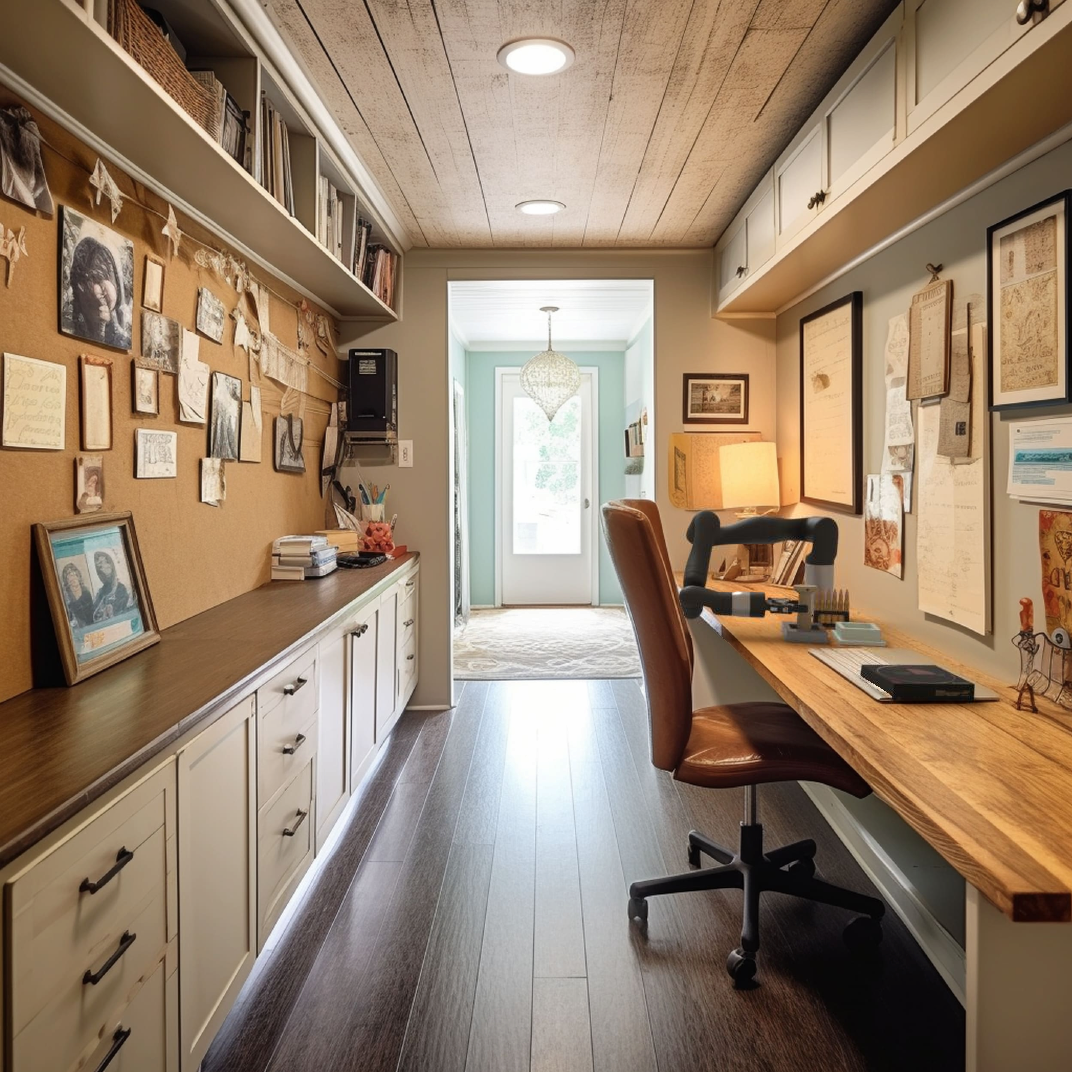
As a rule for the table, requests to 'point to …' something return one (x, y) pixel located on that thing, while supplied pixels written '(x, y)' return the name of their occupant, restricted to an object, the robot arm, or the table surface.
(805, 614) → the handle
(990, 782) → the table surface
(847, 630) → the grey shallow tray
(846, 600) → the ammunition clip
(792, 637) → the socket block
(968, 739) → the table surface
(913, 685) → the portable cd player
